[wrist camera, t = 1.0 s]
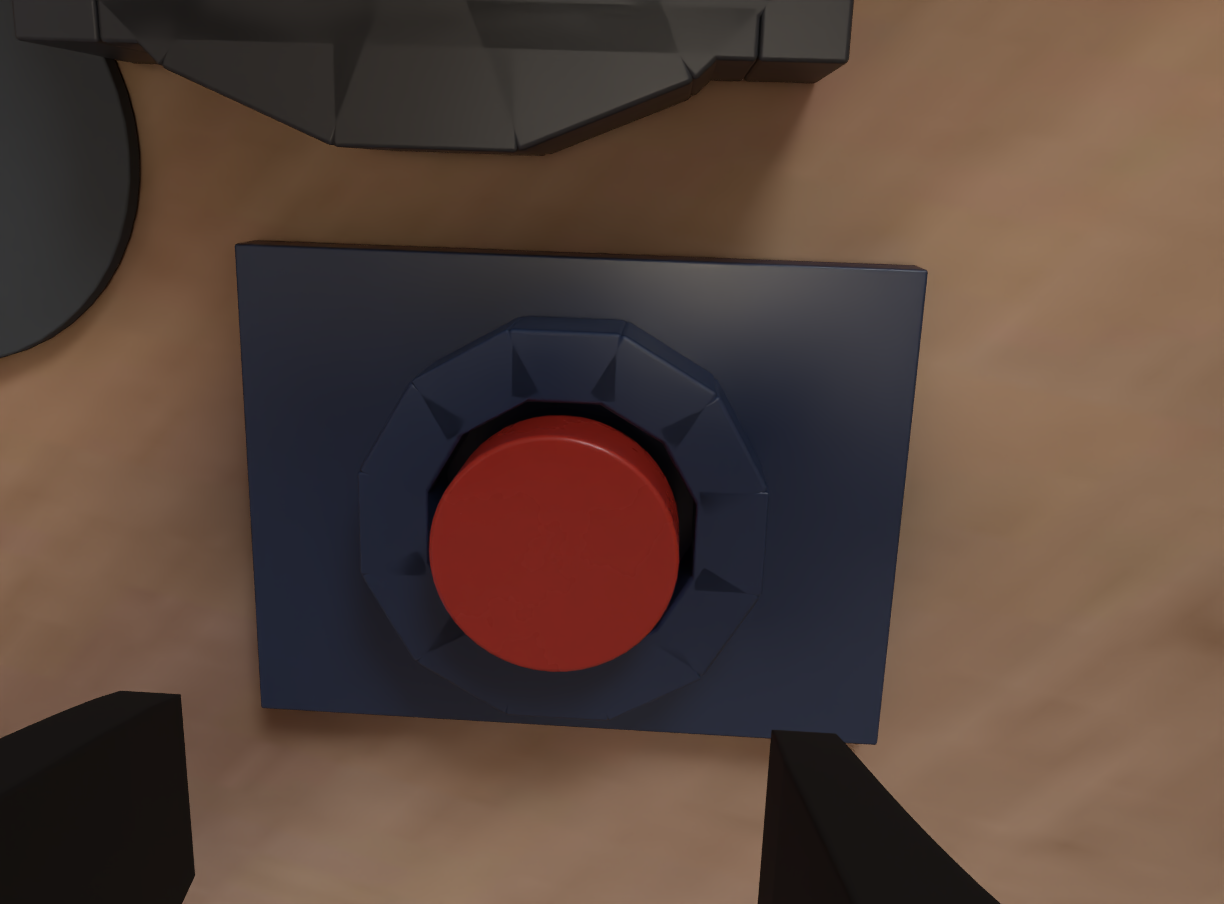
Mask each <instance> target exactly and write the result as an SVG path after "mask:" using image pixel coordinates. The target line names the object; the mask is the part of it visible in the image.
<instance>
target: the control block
mask: <svg viewBox="0 0 1224 904" xmlns="http://www.w3.org/2000/svg"><path fill="white" fill-rule="evenodd" d="M235 257H236V274H237V291H238V309H239V326H240V343H241V361H242V378H243V395H244V413H245V430H246V447H247V464H248V482H249V499H250V516H251V534H252V551H253V568H254V586H255V603H256V620H257V638H258V655H259V672H260V690H261V706H262V708H272V709H288V710H305V711H322V712H338V713H355V714H372V715H388V716H405V717H422V718H438V719H455V720H472V721H488V722H505V723H521V724H538V725H555V726H571V727H588V728H605V729H621V730H638V731H655V732H671V733H688V734H705V735H721V736H738V737H755V738H771V730H786V731H803V732H819V733H836V734H837V735H838V736H839V737H840V738H841V739H842V740H843V741H844V743H855V744H871V745H875V744H876V743H877V738H878V729H879V719H880V710H881V701H882V692H883V682H884V673H885V664H886V655H887V645H888V636H889V627H890V617H891V608H892V599H893V590H894V580H895V571H896V562H897V553H898V543H899V534H900V525H901V515H902V506H903V497H904V488H905V478H906V469H907V460H908V451H909V441H910V432H911V423H912V414H913V404H914V395H915V386H916V376H917V367H918V358H919V349H920V339H921V330H922V321H923V312H924V302H925V293H926V284H927V274H928V272H927V270H925V269H922V268H920V267H917V266H915V265H888V264H862V263H835V262H809V261H782V260H756V259H729V258H703V257H676V256H650V255H623V254H597V253H570V252H543V251H517V250H490V249H464V248H437V247H411V246H384V245H358V244H331V243H305V242H278V241H250V242H244V243H238V244H235ZM546 415H571V416H580V417H584V418H589V419H593V420H596V421H599V422H602V423H604V424H607V425H610V426H612V427H613V428H615V429H617V430H619V431H621V432H623V433H625V434H626V435H627V436H629V437H630V438H632V439H633V440H634V441H636V442H637V443H638V444H639V445H640V446H641V447H642V448H644V449H645V450H646V451H647V452H648V453H649V454H650V456H651V457H652V458H653V459H654V460H655V462H656V463H657V464H658V465H659V467H660V469H661V470H662V472H663V473H664V475H665V477H666V478H667V481H668V483H669V485H670V487H671V489H672V492H673V495H674V499H675V502H676V505H677V511H678V518H679V569H678V577H677V581H676V585H675V589H674V593H673V595H672V598H671V600H670V602H669V605H668V607H667V609H666V610H665V612H664V614H663V616H662V617H661V619H660V621H659V622H658V623H657V624H656V626H655V627H654V628H653V629H652V631H651V632H650V633H649V634H648V635H647V636H646V637H645V638H644V639H643V640H642V641H640V642H639V643H638V644H637V645H636V646H634V647H633V648H631V649H630V650H629V651H627V652H626V653H624V654H622V655H620V656H619V657H617V658H615V659H613V660H611V661H608V662H606V663H603V664H600V665H598V666H594V667H590V668H586V669H583V670H575V671H567V672H549V671H541V670H534V669H529V668H525V667H521V666H518V665H515V664H512V663H510V662H507V661H504V660H502V659H501V658H499V657H497V656H495V655H493V654H491V653H489V652H488V651H486V650H485V649H483V648H482V647H480V646H479V645H477V644H476V643H475V642H474V641H473V640H472V639H471V638H469V637H468V636H467V635H466V634H465V633H464V632H463V631H462V630H461V629H460V627H459V626H458V625H457V624H456V623H455V622H454V620H453V619H452V617H451V616H450V614H449V613H448V612H447V610H446V608H445V607H444V605H443V603H442V601H441V599H440V597H439V595H438V592H437V589H436V587H435V584H434V581H433V577H432V573H431V568H430V560H429V535H430V530H431V525H432V520H433V517H434V514H435V511H436V508H437V505H438V503H439V501H440V499H441V497H442V495H443V493H444V491H445V490H446V489H447V487H448V486H449V484H450V483H451V481H452V480H453V479H454V477H455V476H456V474H457V473H458V472H459V470H460V469H461V468H462V466H463V465H464V464H465V462H466V461H467V459H468V458H469V457H470V455H471V454H472V453H473V452H474V451H475V450H476V449H477V448H478V447H479V446H480V445H481V444H482V443H483V442H485V441H486V440H487V439H488V438H490V437H491V436H492V435H494V434H495V433H497V432H499V431H500V430H502V429H504V428H505V427H508V426H510V425H512V424H515V423H517V422H519V421H523V420H526V419H530V418H533V417H540V416H546Z"/></svg>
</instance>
